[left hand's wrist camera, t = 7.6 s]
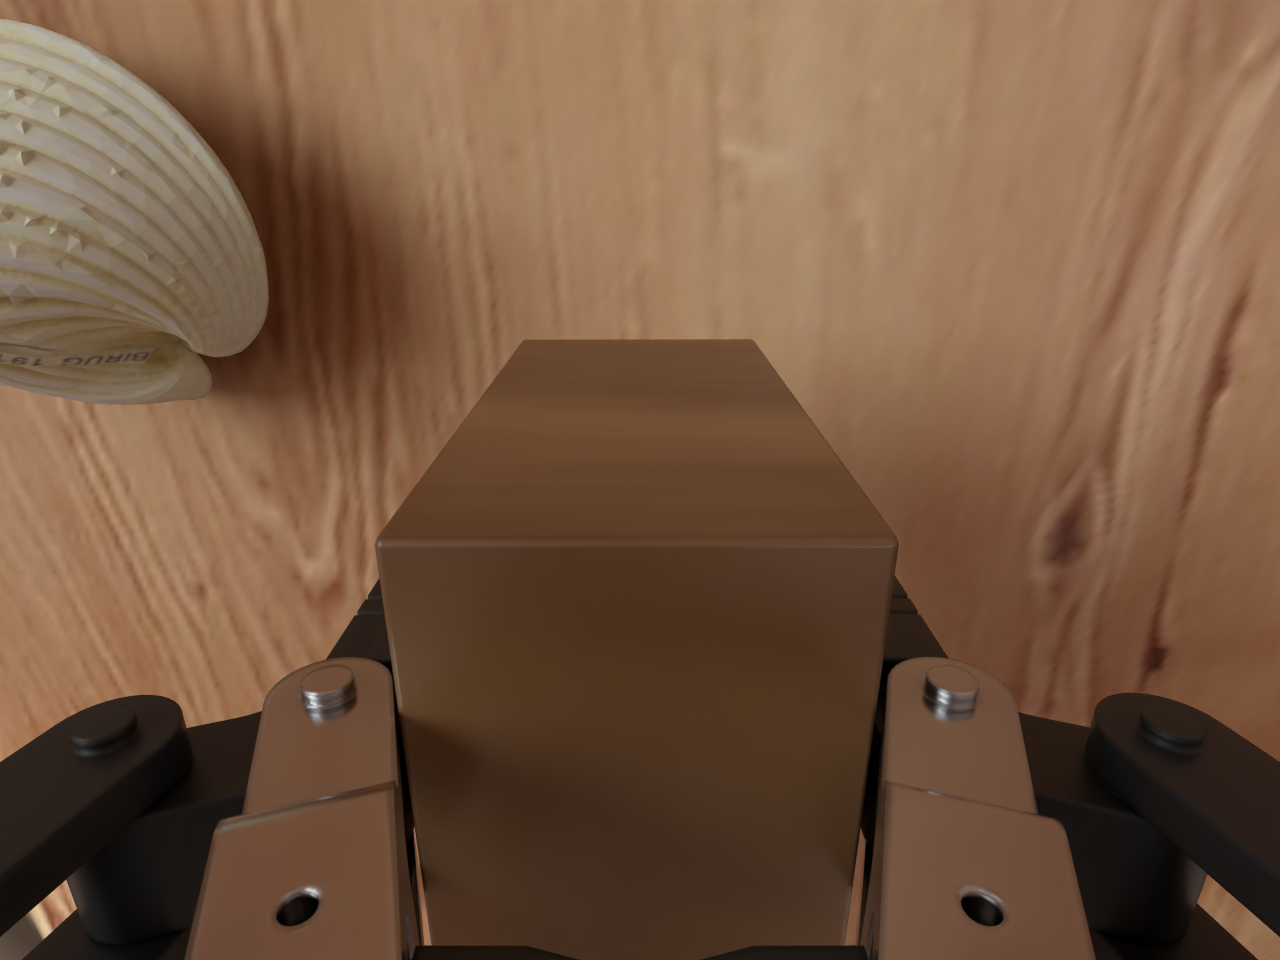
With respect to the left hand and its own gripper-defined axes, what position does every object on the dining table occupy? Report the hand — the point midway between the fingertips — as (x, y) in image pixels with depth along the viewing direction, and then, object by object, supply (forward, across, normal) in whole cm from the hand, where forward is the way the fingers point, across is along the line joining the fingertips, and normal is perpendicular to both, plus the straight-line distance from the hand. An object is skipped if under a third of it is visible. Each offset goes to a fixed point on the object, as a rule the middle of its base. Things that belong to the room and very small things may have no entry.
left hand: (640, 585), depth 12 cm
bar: (+5, 0, -9) cm, 10 cm away
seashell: (+11, -13, +5) cm, 18 cm away
